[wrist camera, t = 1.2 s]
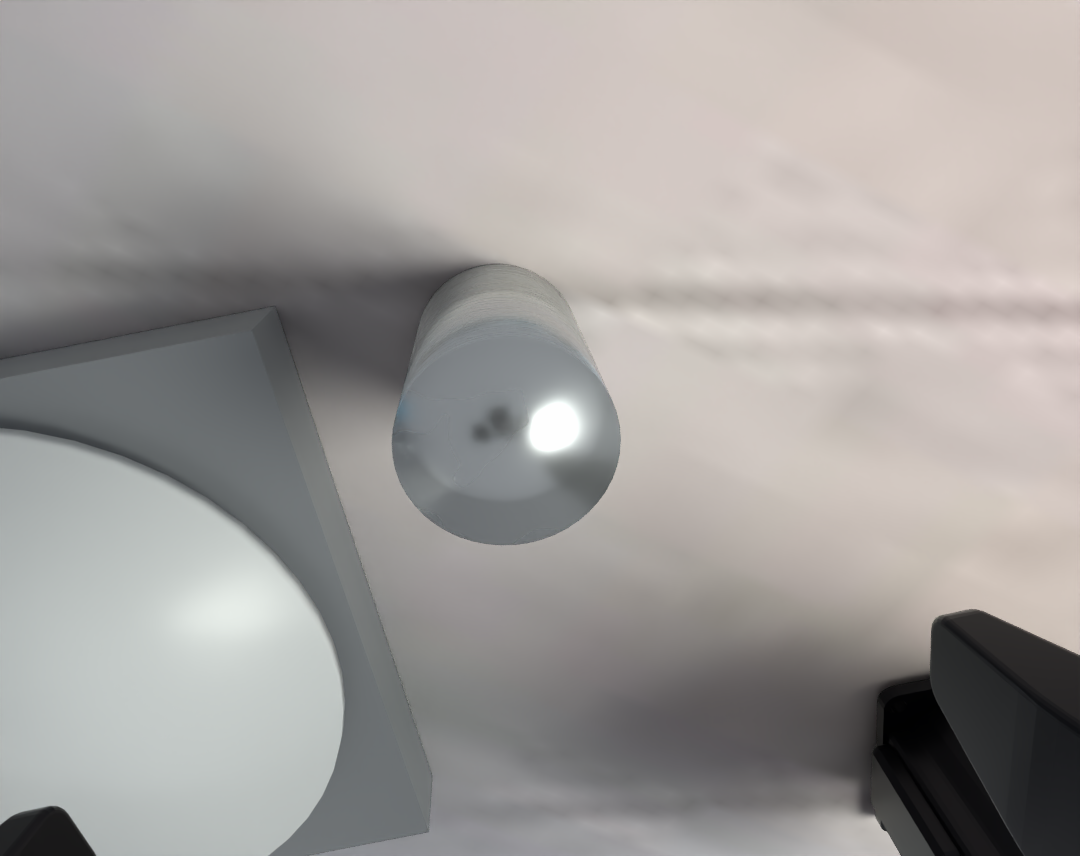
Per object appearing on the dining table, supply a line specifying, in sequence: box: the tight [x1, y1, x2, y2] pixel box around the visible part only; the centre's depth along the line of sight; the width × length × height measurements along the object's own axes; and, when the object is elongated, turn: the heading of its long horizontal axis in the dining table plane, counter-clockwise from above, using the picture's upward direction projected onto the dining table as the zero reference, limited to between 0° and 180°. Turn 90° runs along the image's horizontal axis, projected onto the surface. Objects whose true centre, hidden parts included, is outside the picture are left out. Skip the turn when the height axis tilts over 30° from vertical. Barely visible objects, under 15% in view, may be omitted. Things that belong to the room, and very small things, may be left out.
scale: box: [0, 306, 432, 856], centre depth 19 cm, size 16×17×3 cm
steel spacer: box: [392, 264, 621, 545], centre depth 16 cm, size 4×4×6 cm
